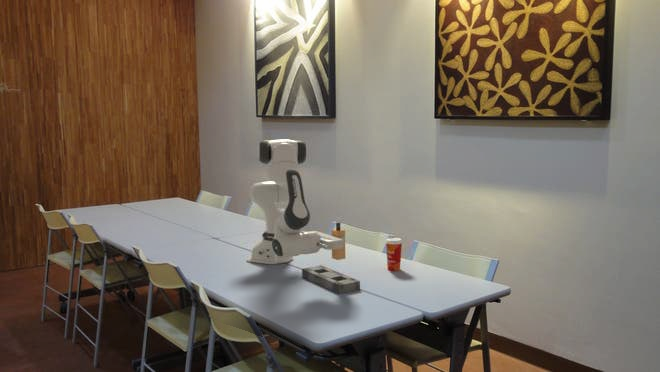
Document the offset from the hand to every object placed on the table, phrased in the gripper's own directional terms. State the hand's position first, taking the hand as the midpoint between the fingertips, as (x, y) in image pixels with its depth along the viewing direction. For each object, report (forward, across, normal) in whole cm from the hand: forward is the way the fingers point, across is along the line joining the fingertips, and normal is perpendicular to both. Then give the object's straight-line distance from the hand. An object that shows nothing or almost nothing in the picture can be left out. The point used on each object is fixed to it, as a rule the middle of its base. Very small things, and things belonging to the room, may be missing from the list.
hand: (340, 237), depth 242 cm
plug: (-1, 0, +8) cm, 9 cm away
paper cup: (+34, +8, +21) cm, 41 cm away
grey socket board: (-1, +7, +21) cm, 22 cm away
